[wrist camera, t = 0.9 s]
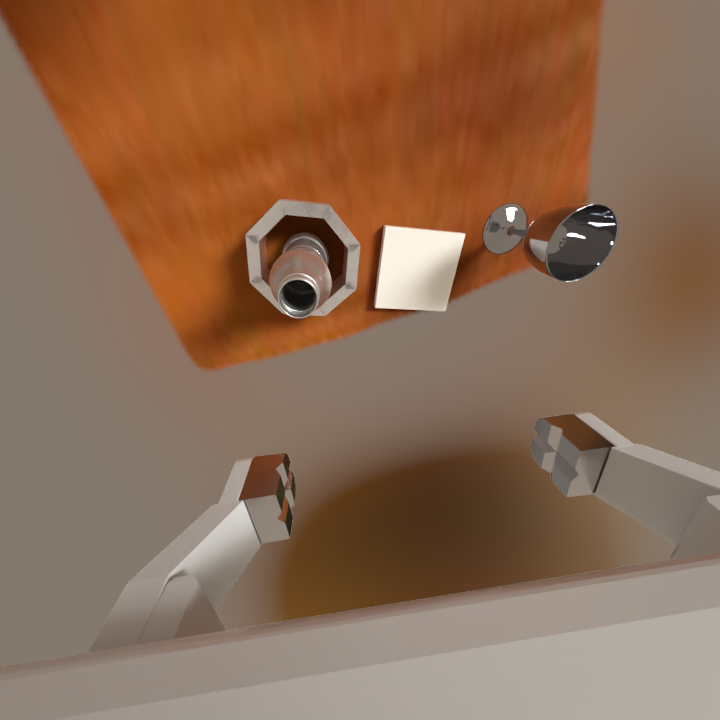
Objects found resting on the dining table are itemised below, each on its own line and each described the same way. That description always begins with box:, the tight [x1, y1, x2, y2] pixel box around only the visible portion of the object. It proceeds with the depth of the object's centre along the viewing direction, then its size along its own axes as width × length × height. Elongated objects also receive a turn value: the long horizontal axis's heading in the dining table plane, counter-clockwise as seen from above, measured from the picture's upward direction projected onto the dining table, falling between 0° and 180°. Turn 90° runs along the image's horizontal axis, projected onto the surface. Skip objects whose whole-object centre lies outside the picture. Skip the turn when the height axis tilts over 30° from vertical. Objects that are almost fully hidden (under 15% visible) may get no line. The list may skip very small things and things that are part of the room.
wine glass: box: [483, 203, 619, 282], centre depth 38 cm, size 8×8×15 cm
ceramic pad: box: [374, 225, 465, 311], centre depth 45 cm, size 12×12×2 cm
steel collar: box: [245, 199, 360, 316], centre depth 40 cm, size 14×14×6 cm
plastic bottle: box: [269, 232, 332, 319], centre depth 34 cm, size 6×7×20 cm
